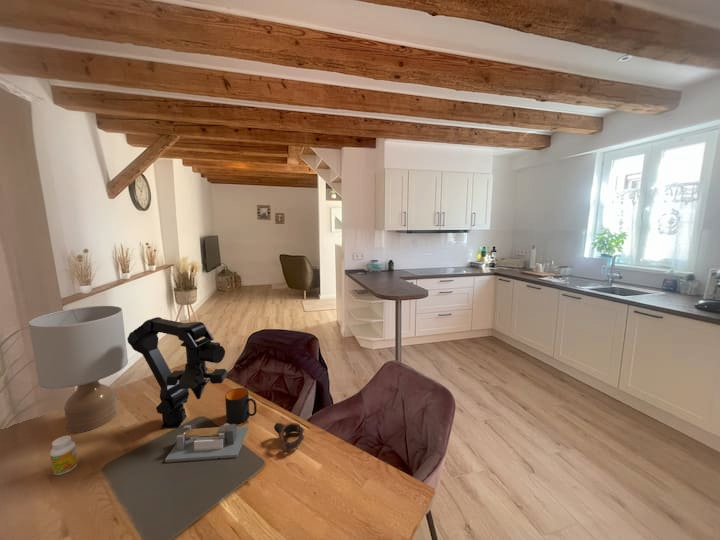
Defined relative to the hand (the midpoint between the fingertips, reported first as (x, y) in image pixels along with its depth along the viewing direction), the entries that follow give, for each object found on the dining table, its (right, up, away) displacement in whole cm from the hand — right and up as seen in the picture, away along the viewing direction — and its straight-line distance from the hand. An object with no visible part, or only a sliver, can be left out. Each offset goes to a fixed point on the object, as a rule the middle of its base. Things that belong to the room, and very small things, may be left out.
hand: (199, 398), depth 104 cm
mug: (+12, -12, +8) cm, 19 cm away
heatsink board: (+7, -14, -5) cm, 16 cm away
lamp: (-44, -11, +6) cm, 46 cm away
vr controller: (+34, -14, -3) cm, 37 cm away
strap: (+5, -9, -6) cm, 12 cm away
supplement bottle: (-32, -15, -16) cm, 39 cm away
